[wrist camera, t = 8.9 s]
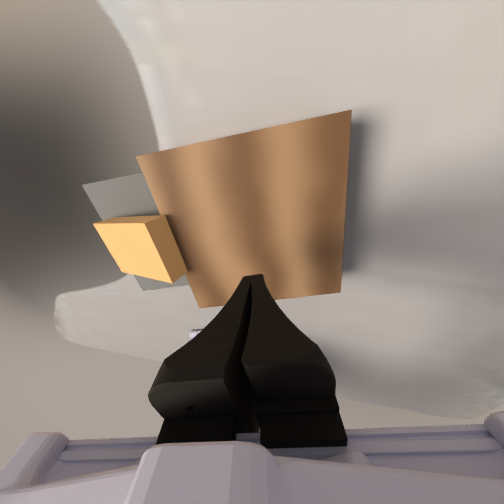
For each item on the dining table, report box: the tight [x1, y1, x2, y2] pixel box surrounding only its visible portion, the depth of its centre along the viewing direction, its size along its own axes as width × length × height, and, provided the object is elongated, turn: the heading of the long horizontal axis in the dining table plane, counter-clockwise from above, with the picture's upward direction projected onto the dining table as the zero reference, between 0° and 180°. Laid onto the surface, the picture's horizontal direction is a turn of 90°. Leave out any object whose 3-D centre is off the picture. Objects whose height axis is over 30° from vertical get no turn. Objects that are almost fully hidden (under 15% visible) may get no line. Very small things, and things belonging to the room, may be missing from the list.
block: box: [94, 215, 188, 284], centre depth 18 cm, size 9×6×2 cm, turn 100°
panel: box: [136, 110, 352, 308], centre depth 18 cm, size 16×16×4 cm
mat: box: [82, 173, 189, 291], centre depth 21 cm, size 9×14×1 cm, turn 10°
